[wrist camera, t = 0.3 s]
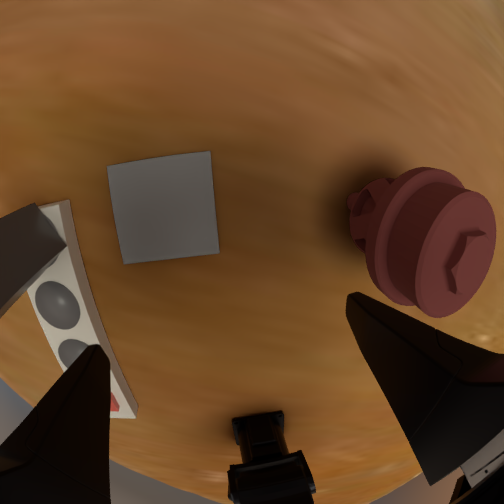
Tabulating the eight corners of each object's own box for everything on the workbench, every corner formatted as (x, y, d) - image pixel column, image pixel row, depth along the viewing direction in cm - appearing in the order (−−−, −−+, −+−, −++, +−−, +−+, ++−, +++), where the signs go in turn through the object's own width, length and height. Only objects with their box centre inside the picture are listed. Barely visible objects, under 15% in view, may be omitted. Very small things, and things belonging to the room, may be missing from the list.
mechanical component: (383, 277, 27) (304, 241, 24) (427, 191, 24) (356, 137, 22) (463, 346, 16) (383, 321, 13) (524, 227, 13) (469, 144, 10)
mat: (219, 251, 23) (219, 253, 23) (125, 262, 22) (123, 264, 22) (210, 150, 20) (210, 150, 20) (108, 165, 19) (106, 166, 19)
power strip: (138, 405, 28) (135, 423, 26) (94, 404, 27) (90, 421, 25) (69, 199, 19) (54, 206, 17) (18, 211, 19) (1, 219, 16)
